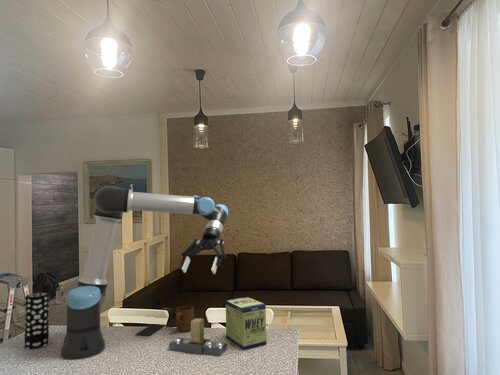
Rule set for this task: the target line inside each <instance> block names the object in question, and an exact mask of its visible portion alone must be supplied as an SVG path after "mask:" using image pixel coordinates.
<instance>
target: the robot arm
mask: <svg viewBox="0 0 500 375" xmlns="http://www.w3.org/2000/svg"><path fill="white" fill-rule="evenodd" d="M93 198H94V199H93V202H94V205H95V207H94V212H93V217H94V219H95V224H94V229H93V233H92V237H91V241H90V245H89V251H88V253H87V254H88V255H87V260H86V264H85V268H84V274H83V275H82V276H81V277H80V278H79V279H78V282H77V286H76V288H73V289H70V291H69V292H67V297H66V334H65V337H64V341H63V345H62V346H61V350H60V357H61V358H63V359H65V360H66V359H67V360H80V359H85V358H91V357H94V356H96V355H98V354H101V353H102V352H103V351H104V350H105V348H106V342H105V341H106V340H105V339H104V337H103V333H102V330H101V309H102V308H103V307H102V306H103V305H104V303H105V301H106V298H107V293H106V292H107V289H108V284H109V282H108V280H107V279H106V277H107V271H108V267H109V261H110V258H111V253H112V249H113V243H114V240H115V239H114V238H115V234H116V230H117V227H118V226H117V225H118V223H120V222H121V221H122V220H123V215H124V213H130V211H136V212H137V211H138V212H140V211H141V212H151V213H152V212H155V213H170V214H171V213H172V214H185V215H186V214H187V215H197V216H200V217H201V218H203V219H205V220H207V221H208V222H207V223H206V224H207V225H206V226H205V229H204V231H203V234H202V237H201V239H200V240H199V239H198V238H195V239H194V240H193V242H192V243H191V244H190V245H189V246H188V247H187V248H186V249H185V250H184V251H183V252H182V253H181V256H182V257H183V261H182V264H183V265H182V267H181V270H182V272H183V273H184V274H186V272H187V270H188V268H189V265H190V263H191V258H193V257H195V256H196V255H197V254H199V253H200V252H203V251H211V250H213V252H214V253H215V255H216V256H215V258H214V261H213V264H212V267H211V268H210V269H211V271H210V272H212V274H213V275H216V272H217V269H218V267H220V266H221V262H222V261H223V260H227V255H226V251H225V241H224V239H223V238H221V235H222V232H223V230H224V226H225V224H226V222H227V220H228V215H229V209H228V206H226V204H220V203H218V204H216V205H215V202H214V200H213V199H212V198H210V197H208V196H203V197H202V196H198V195H192V196H189V195H188V196H187V195H177V194H163V193H152V192H136V191H132V189H130V188H120V187H117V186H113V185H105V186H103V187H101V188H100V189H98V190H97V191H96V193H95V194H94V197H93ZM218 245H219V248H220V252H221V254H220V253H219V250H218V249H217V247H216V246H218Z"/></svg>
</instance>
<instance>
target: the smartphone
mask: <svg viewBox="0 0 500 375" xmlns="http://www.w3.org/2000/svg"><path fill="white" fill-rule="evenodd" d="M166 328H167V324H163V323H161V324H160V323H151V324H149V325H148V326H146V327H144V328H143V329H141V330H140V331H137V333H135V334H134V335H133V336H134V337H133V338H146V339H150V338H152V337H153V336H155V335H156V334H159V333H160V332H161V331H163V330H164V329H166Z"/></svg>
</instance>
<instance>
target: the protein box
mask: <svg viewBox="0 0 500 375" xmlns="http://www.w3.org/2000/svg"><path fill="white" fill-rule="evenodd" d="M266 305H267V304H266V303H263V302H261V301H258V300H256V299H254V298H250V297H249V296H245V297H238V298H233V299H232V298H231V299H226V300H225V338H226V339H227V340H228V341H229V342H231V343H232V344H234V345H235V346H237V347H238V348H240V349H241V350H242V351H247V350H250V349H254V348H259V347H263V346H266V345H267V344H268V343H267V310H266V309H267V308H266Z"/></svg>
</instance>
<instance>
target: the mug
mask: <svg viewBox="0 0 500 375" xmlns="http://www.w3.org/2000/svg"><path fill="white" fill-rule="evenodd" d="M194 311H195V310H194V307H193V306H191V305H183V306H178V307H177V308H176V316H175V322H176V331H177V332H180V333H188V332H191V321H192V320H194V319H195V312H194Z"/></svg>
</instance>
